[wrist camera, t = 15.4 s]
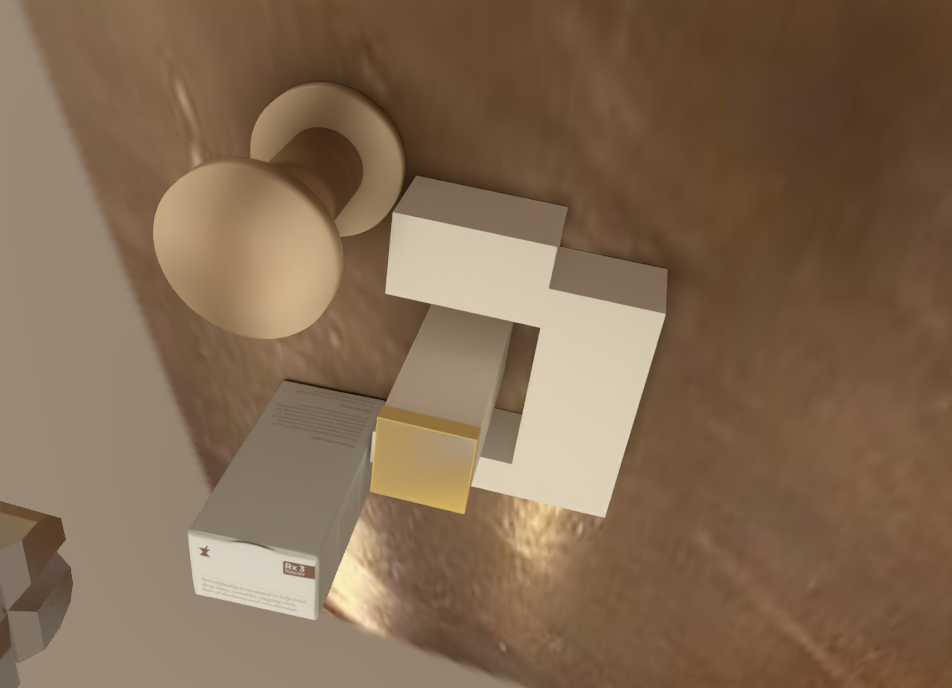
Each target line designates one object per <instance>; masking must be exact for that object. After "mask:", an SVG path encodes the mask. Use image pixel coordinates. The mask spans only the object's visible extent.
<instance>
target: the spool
mask: <svg viewBox="0 0 952 688" xmlns="http://www.w3.org/2000/svg"><path fill="white" fill-rule="evenodd" d="M250 155H251V158H246V157H223V158H217V159H213V160H210V161H207V162H204V163H202V164H200V165H198V166H196V167H195V168H193V169H192V170H190V171H189V172H188V173H186V174H185V175H184V176H183V177H182V178H180V179H179V180H178V181H177V182H176V183H175V184H174V185H173V186H172V187H171V188H169V189H168V191H167V192H166V194H165V195H164V196H163V198H162V200H161V202H160V204H159V206H158V208H157V211H156V215H155V219H154V227H153V238H154V245H155V251H156V254H157V258H158V261H159V263H160V266H161V268H162V271H163V273H164V274H165V276H166V278H167V280H168V282H169V283H170V285H171V286H172V287H173V289H174V290H175V292H176V293H177V294H178V295H179V296H180V298H181V299H182V300H183V301H184V302H185V303H186V304H187V305H188V306H189V307H190V308H191V309H192V310H194V311H195V312H196V313H198V314H199V315H200V316H201V317H203V318H204V319H206V320H207V321H209V322H211V323H212V324H214V325H216V326H218V327H220V328H222V329H224V330H227V331H229V332H232V333H235V334H238V335H242V336H246V337H251V338H260V339H272V338H281V337H286V336H290V335H293V334H296V333H298V332H300V331H302V330H304V329H306V328H307V327H309V326H310V325H311V324H313V323H314V322H315V321H316V320H317V319H318V318H319V317H320V316H321V315H322V313H323V312H324V311H325V309H326V308H327V306H328V305H329V303H330V302H331V300H332V299H333V297H334V296H335V294H336V292H337V290H338V288H339V286H340V282H341V279H342V276H343V268H344V253H343V246H342V241H341V238H340V237H344V236H352V235H356V234H359V233H362V232H365V231H367V230H369V229H370V228H372V227H374V226H375V225H377V224H378V223H379V222H380V221H381V220H382V219H383V218H384V217H385V216H386V215H387V214H388V212H389V211H390V210H391V208H392V207H393V205H394V204H395V202H396V200H397V199H398V197H399V195H400V193H401V191H402V188H403V185H404V181H405V175H406V159H405V152H404V148H403V144H402V141H401V139H400V136H399V134H398V132H397V130H396V128H395V126H394V124H393V123H392V121H391V120H390V118H389V117H388V116H387V115H386V113H385V112H384V111H383V110H382V109H381V108H380V107H379V106H378V105H377V104H376V103H375V102H374V101H372V100H371V99H370V98H368V97H367V96H365V95H364V94H362V93H360V92H359V91H357V90H355V89H352V88H350V87H348V86H345V85H341V84H338V83H332V82H309V83H304V84H300V85H297V86H295V87H293V88H291V89H288V90H287V91H285V92H284V93H282V94H281V95H280V96H279V97H277V98H276V99H275V100H274V101H273V102H271V103H270V104H269V105H268V106H267V107H266V108H265V109H264V111H263V112H262V113H261V115H260V116H259V118H258V120H257V122H256V124H255V127H254V129H253V132H252V137H251V145H250Z"/></svg>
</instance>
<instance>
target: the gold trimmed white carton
mask: <svg viewBox="0 0 952 688" xmlns="http://www.w3.org/2000/svg"><path fill="white" fill-rule="evenodd" d="M513 323H514V322H512V321H508V320H503V319H499V318H494V317H489V316H485V315H480V314H476V313H471V312H467V311H462V310H458V309H453V308H449V307H444V306H440V305H435V304H431V306H430V308H429V311H428V313H427V315H426V317H425V319H424V321H423V323H422V326H421V328H420V330H419V332H418V334H417V336H416V338H415V341H414V343H413V345H412V347H411V349H410V351H409V353H408V356H407V358H406V360H405V362H404V364H403V366H402V368H401V371H400V373H399V375H398V377H397V379H396V381H395V383H394V386H393V388H392V390H391V392H390V394H389V396H388V399H387V401H386V403H385V405H383V406H382V408H381V410H380V412H379V414H378V416H377V425H376V435H375V446H374V456H373V467H372V477H371V488H370V492H374V493H379V494H383V495H387V496H391V497H395V498H399V499H403V500H408V501H412V502H416V503H420V504H424V505H428V506H432V507H437V508H441V509H445V510H449V511H453V512H457V513H461V514H464V513H465V510H466V506H467V503H468V498H469V493H470V488H471V485H472V482H473V478H474V475H475V471H476V468H477V465H478V461H479V458H480V454H481V451H482V448H483V444H484V441H485V438H486V434H487V431H488V427H489V424H490V421H491V417H492V414H493V411H494V407H495V404H496V400H497V397H498V394H499V390H500V387H501V383H502V380H503V376H504V371H505V365H506V360H507V355H508V350H509V344H510V339H511V334H512V329H513Z"/></svg>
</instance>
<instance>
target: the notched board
mask: <svg viewBox="0 0 952 688" xmlns="http://www.w3.org/2000/svg"><path fill="white" fill-rule="evenodd" d="M567 209H568V207H565V206H560V205H555V204H551V203H546V202H541V201H536V200H531V199H527V198H522V197H517V196H512V195H507V194H503V193H498V192H493V191H488V190H484V189H479V188H474V187H469V186H464V185H460V184H455V183H450V182H445V181H440V180H436V179H431V178H426V177H421V176H416V177H415V178H414V180H413V182H412V183H411V185H410V186H409V188H408V189H407V191H406V192H405V194H404V196H403V197H402V199H401V200H400V202H399V203H398V205H397V206H396V208H395V209H394V211H393V215H392V226H391V237H390V248H389V259H388V270H387V281H386V292H385V294H390V295H394V296H399V297H403V298H408V299H412V300H417V301H421V302H426V303H431V304H435V305H440V306H444V307H449V308H453V309H458V310H462V311H467V312H471V313H476V314H480V315H485V316H489V317H494V318H499V319H503V320H508V321H512V322H517V323H521V324H526V325H530V326H535V327H539V328H540V333H539V337H538V342H537V347H536V352H535V356H534V361H533V366H532V371H531V375H530V380H529V385H528V390H527V395H526V399H525V404H524V409H523V414H518V413H514V412H510V411H505V410H501V409H497V408H494V411H493V414H492V417H491V421H490V424H489V427H488V431H487V434H486V438H485V441H484V444H483V448H482V451H481V454H480V458H479V461H478V465H477V468H476V471H475V475H474V478H473V482H472V485H471V486H473V487H478V488H482V489H486V490H490V491H494V492H499V493H503V494H507V495H511V496H516V497H520V498H524V499H528V500H532V501H537V502H541V503H545V504H549V505H553V506H558V507H562V508H566V509H570V510H574V511H579V512H583V513H587V514H591V515H596V516H600V517H604V518H605V515H606V512H607V508H608V505H609V502H610V498H611V495H612V492H613V488H614V485H615V482H616V478H617V475H618V472H619V468H620V465H621V462H622V458H623V455H624V452H625V448H626V445H627V442H628V438H629V435H630V432H631V428H632V425H633V422H634V418H635V415H636V412H637V409H638V405H639V402H640V399H641V395H642V392H643V389H644V385H645V382H646V379H647V375H648V372H649V369H650V365H651V362H652V359H653V355H654V352H655V349H656V345H657V342H658V339H659V335H660V332H661V329H662V325H663V322H664V319H665V315H666V298H667V272H668V269H664V268H659V267H654V266H650V265H645V264H640V263H635V262H631V261H626V260H621V259H617V258H612V257H607V256H602V255H598V254H593V253H588V252H584V251H579V250H574V249H570V248H565V247H560V242H561V238H562V233H563V228H564V224H565V219H566V214H567ZM376 425H377V424H376ZM375 435H376V426H375V428H374V430H373V435H372V446H371V457H370V462H372V463H373V456H374V446H375Z"/></svg>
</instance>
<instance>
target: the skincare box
mask: <svg viewBox="0 0 952 688" xmlns="http://www.w3.org/2000/svg"><path fill="white" fill-rule="evenodd" d="M385 403H386V402H385V401H383V400H379V399H373V398H368V397H363V396H358V395H353V394H348V393H343V392H338V391H333V390H328V389H323V388H318V387H313V386H308V385H303V384H298V383H293V382H288V381H282V382H281V384H280V385H279V387H278V389H277V390H276V392H275V393H274V395H273V397H272V398H271V400H270V402H269V403H268V405H267V406H266V408H265V409H264V411H263V412H262V414H261V416H260V417H259V419H258V421H257V422H256V424H255V425H254V427H253V428H252V430H251V432H250V433H249V435H248V436H247V438H246V439H245V441H244V443H243V444H242V446H241V447H240V449H239V450H238V452H237V454H236V455H235V457H234V458H233V460H232V462H231V463H230V465H229V466H228V468H227V470H226V471H225V473H224V474H223V476H222V477H221V479H220V481H219V482H218V484H217V485H216V487H215V489H214V490H213V492H212V494H211V495H210V497H209V498H208V500H207V502H206V504H205V505H204V507H203V509H202V510H201V512H200V513H199V515H198V516H197V518H196V519H195V521H194V522H193V524H192V525H191V527H190V528H189V530H188V539H189V550H190V557H191V566H192V575H193V583H194V588H195V593H196V594H199V595H204V596H208V597H213V598H218V599H223V600H227V601H231V602H236V603H240V604H245V605H250V606H254V607H258V608H263V609H268V610H272V611H276V612H281V613H285V614H290V615H295V616H299V617H304V618H308V619H312V620H316V619H317V618H318V617H319V615H320V612H321V610H322V608H323V605H324V602H325V600H326V598H327V595H328V593H329V591H330V588H331V585H332V583H333V580H334V578H335V575H336V572H337V570H338V567H339V565H340V562H341V560H342V558H343V555H344V553H345V550H346V548H347V545H348V543H349V540H350V538H351V535H352V533H353V530H354V528H355V526H356V523H357V521H358V518H359V516H360V513H361V511H362V509H363V506H364V504H365V501H366V499H367V496H368V494H369V491H370V488H371V477H372V467H373V463H372V462H370V457H371V446H372V435H373V430H374V428H375V426H376V424H377V416H378V414H379V412H380V410H381V408H382V406H383V405H385Z"/></svg>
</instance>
